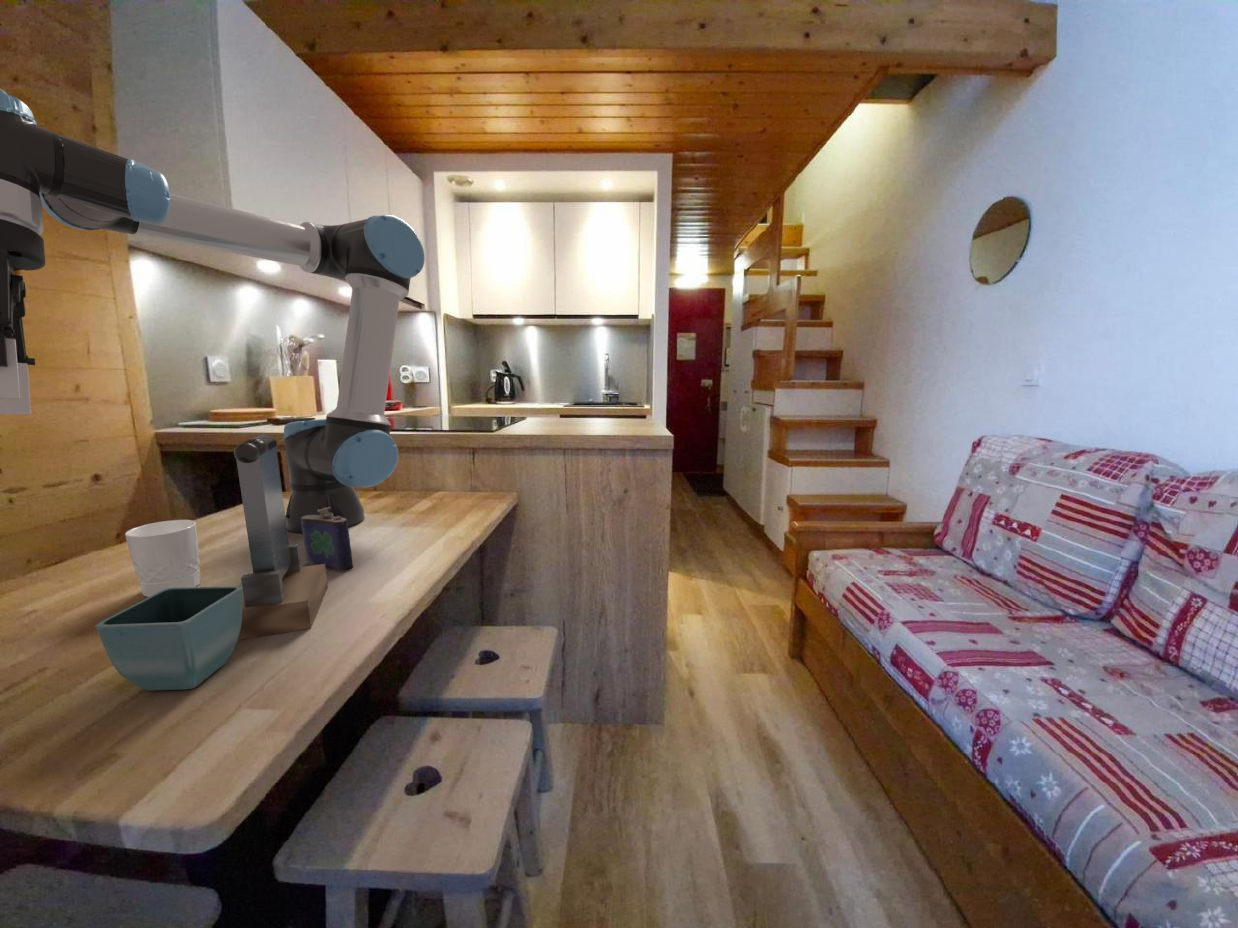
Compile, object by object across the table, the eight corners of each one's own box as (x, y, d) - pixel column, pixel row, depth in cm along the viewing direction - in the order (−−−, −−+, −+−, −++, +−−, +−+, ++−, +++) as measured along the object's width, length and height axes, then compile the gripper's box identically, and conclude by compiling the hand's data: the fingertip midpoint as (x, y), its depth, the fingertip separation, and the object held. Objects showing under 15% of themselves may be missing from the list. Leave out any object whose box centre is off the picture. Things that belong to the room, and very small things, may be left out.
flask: (302, 566, 84) (295, 507, 82) (317, 560, 87) (310, 503, 85) (345, 572, 82) (339, 512, 80) (358, 566, 85) (353, 507, 83)
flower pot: (179, 655, 58) (166, 586, 57) (255, 652, 59) (244, 584, 57) (109, 704, 50) (91, 625, 48) (198, 701, 50) (184, 623, 49)
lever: (252, 602, 63) (229, 444, 58) (272, 574, 71) (253, 434, 67) (276, 599, 64) (254, 443, 59) (293, 571, 72) (275, 433, 68)
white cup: (165, 602, 71) (152, 538, 69) (123, 597, 73) (110, 534, 71) (218, 580, 79) (208, 521, 77) (179, 575, 80) (169, 518, 78)
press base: (219, 643, 61) (209, 584, 59) (251, 597, 73) (244, 547, 71) (311, 628, 65) (304, 572, 63) (327, 587, 76) (322, 539, 75)
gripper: (-41, 254, 62) (-28, 419, 62) (-92, 161, 45) (-74, 387, 45) (49, 269, 67) (61, 419, 67) (34, 191, 51) (50, 392, 51)
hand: (7, 407), depth 56 cm, fingers open, 13 cm apart
